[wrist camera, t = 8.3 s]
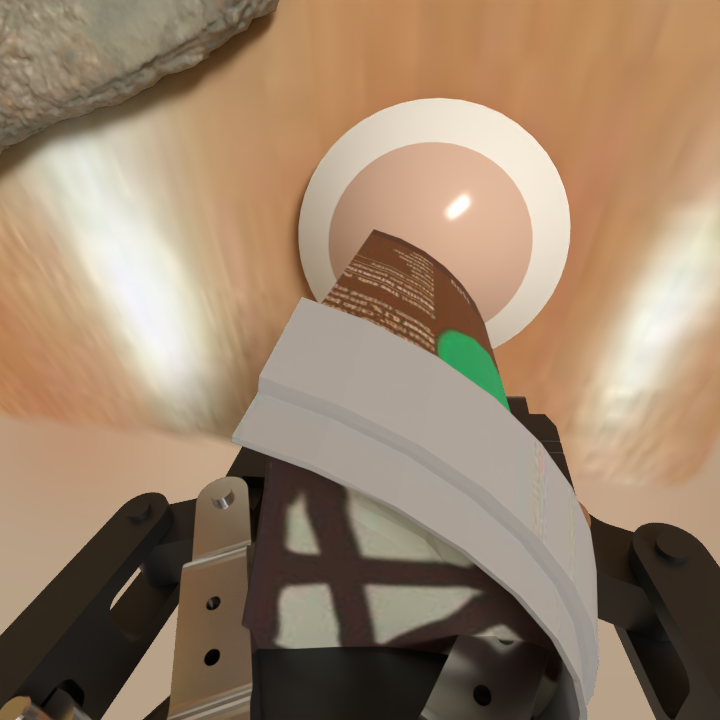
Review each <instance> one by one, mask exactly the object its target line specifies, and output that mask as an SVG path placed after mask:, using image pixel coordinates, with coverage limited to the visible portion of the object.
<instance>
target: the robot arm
mask: <svg viewBox="0 0 720 720" xmlns="http://www.w3.org/2000/svg"><path fill="white" fill-rule="evenodd" d="M506 398H507V402H508V405H509V409H510V412H511V414H512V415H513V416H514V417H515V418H516V419H517V420H518V421H519V422H520V423H521V424H522V425H523V426H524V427H525V428H526V429H527V430H528V431H529V432H530V433H531V434H532V435H533V436H534V437H535V438H536V439H537V440H538V441H539V442H541V444H542V445H543V447H544V448H545V450H546V451H547V452H548V454H549V455H550V457H551V458H552V460H553V461H554V462H555V464H556V465H557V467H558V468H559V469H560V471H561V472H562V474H563V475H564V477H565V478H566V479H567V481H568V482H569V484H570V485H571V487H572V488H573V490H574V487H573V484H572V480H571V477H570V473H569V470H568V466H567V463H566V459H565V456H564V454H563V449H562V445H561V443H560V438H559V435H558V431H557V428H556V426H555V425H554V424H553V422H552V421H551V420H550V419H549V418H548V417H547V416H546V415H545V414H529V411H528V407H527V402H526V398H525V397H509V396H506ZM265 471H266V459H265V454H263V453H261V452H258V451H255V450H252V449H250V448H247V447H244V446H242V448H241V450H240V452H239V454H238V455H237V457H236V459H235V461H234V463H233V464H232V466H231V468H230V470H229V471H228V473H227V475H226V477H224V478H220V479H218V480H215V481H213V482H212V483H210V484H209V485H207V486H206V487H205V488H204V489H203V490H202V491H201V492H200V494H199V496H198V498H196V499H193V500H188V501H183V502H179V503H174V504H169V503H168V501H167V499H166V497H165V496H164V495H162V494H160V493H145V494H142V495H139V496H137V497H135V498H133V499H131V500H130V501H128V502H127V503H126V504H124V505H123V506H122V507H121V508H120V509H119V510H118V511H117V512H116V513H115V514H114V516H113V517H112V518H111V519H110V520H109V521H108V522H107V523H106V524H105V525H104V526H103V527H102V528H101V529H100V530H99V532H98V533H97V534H96V535H95V536H94V537H93V538H92V539H91V540H90V541H89V542H88V543H87V544H86V545H85V546H84V547H83V549H81V551H80V552H79V553H78V554H77V555H76V556H75V557H74V558H73V559H72V560H71V561H70V562H69V563H68V564H67V565H66V567H65V568H64V569H63V570H62V571H61V572H60V573H59V574H58V575H57V576H56V577H55V578H54V579H53V580H52V581H51V582H50V583H49V584H48V586H47V587H46V588H45V589H44V590H43V591H42V592H41V593H40V594H39V595H38V596H37V597H36V599H34V601H33V602H32V603H31V604H30V605H29V606H28V607H27V608H26V609H25V610H24V611H23V612H22V613H21V614H20V615H19V616H18V617H17V619H16V620H15V621H14V622H13V623H12V624H11V625H10V626H9V627H8V628H7V629H6V630H5V631H4V632H3V634H1V636H0V720H101V718H102V717H103V715H104V714H105V712H106V711H107V709H108V708H109V706H110V705H111V703H112V702H113V700H114V699H115V697H116V696H117V694H118V693H119V691H120V690H121V688H122V687H123V685H124V684H125V682H126V681H127V680H128V678H129V677H130V675H131V674H132V672H133V671H134V669H135V667H136V666H137V665H138V663H139V662H140V660H141V659H142V657H143V656H144V654H145V653H146V651H147V650H148V648H149V647H150V645H151V644H152V642H153V641H154V639H155V638H156V636H157V635H158V633H159V632H160V630H161V629H162V627H163V626H164V624H165V623H166V621H167V620H168V618H169V617H170V615H171V614H172V613H173V611H174V610H175V608H176V607H177V605H178V604H179V607H178V618H177V629H176V640H175V650H174V662H173V672H172V683H171V694H170V696H169V697H168V698H166V699H165V700H164V701H163V702H162V703H161V704H160V705H159V706H157V707H156V708H155V709H154V710H153V711H152V712H151V713H150V714H149V715H147V716H146V717H145V718H144V719H143V720H531V717H532V713H533V710H534V707H535V704H536V701H537V697H538V694H539V691H540V688H541V684H542V681H543V678H544V675H545V672H546V669H547V665H548V659H549V653H550V651H549V650H547V649H545V648H542V647H540V646H538V645H535V644H532V643H529V642H525V641H519V640H514V642H513V643H512V644H510V645H504V644H502V643H501V642H500V641H499V640H498V638H497V637H496V636H467V635H458V637H457V639H456V642H455V644H454V646H453V648H452V650H451V652H450V654H449V655H446V654H440V653H434V652H426V651H419V650H411V649H403V648H394V647H377V646H366V647H320V648H299V649H261V648H258V647H257V643H256V640H255V638H254V636H253V633H252V631H251V628H250V627H245V626H242V625H241V624H242V618H243V612H244V607H245V602H246V596H247V591H248V586H249V580H250V574H251V567H252V561H253V555H254V549H255V543H256V536H257V530H258V523H259V517H260V511H261V504H262V498H263V491H264V482H265ZM574 493H575V491H574ZM575 495H576V494H575ZM576 498H577V497H576ZM578 502H579V501H578ZM579 505H580V507H581V509H582V512H583V514H584V516H585V519H586V521H587V524H588V526H589V528H590V531H591V537H592V544H593V551H594V557H595V564H596V572H597V610H598V618H599V619H601V620H604V621H606V622H609V623H611V624H614V626H615V629H616V631H617V634H618V636H619V638H620V640H621V642H622V645H623V647H624V649H625V651H626V653H627V656H628V658H629V660H630V662H631V664H632V667H633V669H634V671H635V674H636V675H637V678H638V680H639V682H640V685H641V687H642V689H643V691H644V693H645V696H646V698H647V700H648V702H649V705H650V707H651V709H652V711H653V713H654V716H655V718H656V720H720V567H719V566H718V564H717V563H716V561H715V560H714V559H713V557H712V556H711V555H710V553H709V552H708V550H707V549H706V548H705V547H704V545H703V544H702V543H701V542H700V541H699V540H698V539H696V538H695V537H694V536H693V535H691V534H690V533H688V532H686V531H684V530H682V529H680V528H678V527H675V526H673V525H669V524H664V523H648V524H645V525H642V526H640V527H639V528H638V529H637V530H636V531H635V532H631V531H628V530H624V529H622V528H618V527H615V526H612V525H609V524H606V523H604V522H602V521H599V520H598V519H596V518H595V517H593V516H592V515H590V514H589V513H588V511H587V510H586V508H585V507H584V506H583V505H582V504H581V503H580V502H579ZM138 567H139V568H140V570H141V572H140V573H139V575H138V576H137V577H136V578H135V580H134V581H133V582H132V584H131V585H130V586H129V587H128V589H127V590H126V591H125V592H124V594H123V595H122V596H121V597H120V599H119V600H118V602H117V603H116V604H115V605H114V607H113V608H112V609H111V610H110V607H111V604H112V601H113V599H114V598H115V596H116V595H117V593H118V592H119V591H120V590H121V588H122V587H123V586H124V585H125V583H126V582H127V581H128V580H129V578H130V577H131V576H132V575H133V573H134V572H135V571H136V570H137V568H138Z"/></svg>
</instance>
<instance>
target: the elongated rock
mask: <svg viewBox="0 0 720 720" xmlns="http://www.w3.org/2000/svg"><path fill="white" fill-rule="evenodd" d="M278 2H279V0H0V154H1V153H2V152H3V150H5V149H9V148H10V145H13V144H16V143H19V142H21V141H23V140H26V139H27V138H28V137H29V136H30V135H33V134H36V133H38V132H41V131H43V130H45V129H46V128H47V126H51V125H54V124H55V123H56V122H58V121H62V120H64V119H70V118H73V117H77V116H83V115H86V114H89V113H91V112H93V111H94V109H95V108H100V107H103V106H116V105H120V104H122V102H123V101H127V100H128V99H129V98H132V97H133V96H135V95H137V94H139V92H140V91H143V90H144V89H147V88H150V87H152V86H154V85H155V84H156V83H157V82H158V81H159V80H160V79H161V78H162V77H164V76H166V75H167V74H173V73H179V72H181V71H183V70H186V69H188V68H192V67H195V66H196V65H197V64H199V63H200V62H201V61H202V60H205V59H207V58H209V56H210V51H212V50H214V49H218V48H219V47H220V46H222V45H223V44H224V43H226V42H227V41H228V40H229V39H230V38H231V37H232V36H234V35H236V34H239V33H240V32H242V31H247V30H248V28H249V25H250V24H251V22H252V20H253V18H258V17H261V16H265V15H267V14H268V13H270V12H273V11H275V10H276V8H277V5H278Z"/></svg>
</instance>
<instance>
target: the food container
mask: <svg viewBox="0 0 720 720" xmlns="http://www.w3.org/2000/svg"><path fill="white" fill-rule="evenodd" d="M231 442H233V443H236V444H238V445H241V446H244V447H247V448H250V449H252V450H255V451H258V452H261V453H263V454H265V459H266V471H265V482H264V491H263V498H262V504H261V511H260V517H259V523H258V530H257V536H256V543H255V549H254V555H253V561H252V567H251V574H250V580H249V586H248V591H247V596H246V602H245V607H244V612H243V618H242V624H241V625H242V626H245V627H250V628H251V631H252V633H253V636H254V638H255V640H256V643H257V647H258V648H261V649H299V648H320V647H366V646H377V647H394V648H403V649H411V650H419V651H426V652H434V653H440V654H446V655H449V654H450V652H451V650H452V648H453V646H454V644H455V642H456V639H457V637H458V635H467V636H496V637H497V638H498V640H499V641H500V642H501V643H502V644H504V645H510V644H512V643H513V642H514V640H519V641H525V642H529V643H532V644H535V645H538V646H540V647H542V648H545V649H547V650H549V651H550V653H549V659H548V665H547V669H546V672H545V675H544V678H543V681H542V684H541V688H540V691H539V694H538V697H537V701H536V704H535V707H534V710H533V713H532V717H531V720H587V708H586V706H587V704H588V702H589V701H590V699H591V697H592V696H593V693H594V687H595V681H596V675H597V670H598V665H599V649H598V648H599V647H598V610H597V572H596V564H595V557H594V551H593V544H592V537H591V531H590V528H589V526H588V524H587V521H586V519H585V516H584V514H583V512H582V509H581V507H580V505H579V502H578V500H577V498H576V495H575V493H574V490H573V488H572V487H571V485H570V484H569V482H568V481H567V479H566V478H565V477H564V475H563V474H562V472H561V471H560V469H559V468H558V467H557V465H556V464H555V462H554V461H553V460H552V458H551V457H550V455H549V454H548V452H547V451H546V450H545V448H544V447H543V445H542V444H541V442H539V441H538V440H537V439H536V438H535V437H534V436H533V435H532V434H531V433H530V432H529V431H528V430H527V429H526V428H525V427H524V426H523V425H522V424H521V423H520V422H519V421H518V420H517V419H516V418H515V417H514V416H513V415H512V414H511V412H510V409H509V405H508V402H507V398H506V395H505V392H504V388H503V385H502V381H501V378H500V374H499V371H498V368H497V364H496V361H495V357H494V354H493V350H492V347H491V344H490V340H489V337H488V333H487V330H486V326H485V323H484V321H483V319H482V317H481V314H480V312H479V310H478V308H477V306H476V304H475V302H474V301H473V299H472V298H471V296H470V295H469V293H468V292H467V291H466V289H465V288H464V286H463V285H462V284H461V282H460V281H459V280H458V279H457V278H456V277H455V276H454V275H453V274H452V273H451V272H450V271H449V270H448V269H447V268H446V267H445V266H444V265H442V264H441V263H440V262H438V261H437V260H436V259H434V258H433V257H432V256H430V255H429V254H428V253H426V252H425V251H423V250H421V249H420V248H418V247H416V246H414V245H412V244H410V243H408V242H406V241H405V240H403V239H401V238H398V237H395V236H392V235H389V234H386V233H384V232H381V231H378V230H375V229H373V231H372V232H371V233H370V235H369V236H368V238H367V239H366V240H365V242H364V243H363V245H362V246H361V248H360V249H359V250H358V252H357V253H356V255H355V256H354V257H353V259H352V260H351V262H350V263H349V265H348V266H347V267H346V269H345V270H344V272H343V273H342V275H341V276H340V277H339V279H338V280H337V282H336V283H335V284H334V286H333V287H332V289H331V290H330V292H329V293H328V294H327V296H326V297H325V299H324V300H323V301H322V303H321V304H320V303H318V302H315V301H312V300H309V299H306V298H304V297H301V299H300V301H299V303H298V305H297V307H296V308H295V310H294V312H293V314H292V316H291V318H290V320H289V321H288V323H287V325H286V327H285V329H284V331H283V333H282V335H281V336H280V338H279V340H278V342H277V344H276V346H275V348H274V349H273V351H272V353H271V355H270V357H269V359H268V361H267V362H266V364H265V366H264V368H263V370H262V372H261V374H260V376H259V383H258V393H257V394H256V396H255V398H254V399H253V401H252V403H251V405H250V406H249V408H248V410H247V411H246V413H245V415H244V416H243V418H242V420H241V421H240V423H239V425H238V426H237V428H236V430H235V432H234V433H233V435H232V441H231Z"/></svg>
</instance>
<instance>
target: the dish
mask: <svg viewBox="0 0 720 720" xmlns="http://www.w3.org/2000/svg"><path fill="white" fill-rule="evenodd" d="M298 228H299V251H300V258H301V263H302V266H303V270H304V274H305V277H306V279H307V282H308V284H309V287H310V289H311V291H312V293H313V295H314V296H315V298H316V300H317V302H318V303H320V304H321V303H322V301H323V300H324V299H325V297H326V296H327V294H328V293H329V292H330V290H331V289H332V287H333V286H334V284H335V283H336V282H337V280H338V279H339V277H340V276H341V275H342V273H343V272H344V270H345V269H346V267H347V266H348V265H349V263H350V262H351V260H352V259H353V257H354V256H355V255H356V253H357V252H358V250H359V249H360V248H361V246H362V245H363V243H364V242H365V240H366V239H367V238H368V236H369V235H370V233H371V232H372V231H373V229H375V230H378V231H381V232H384V233H386V234H389V235H392V236H395V237H398V238H401V239H403V240H405V241H406V242H408V243H410V244H412V245H414V246H416V247H418V248H420V249H421V250H423V251H425V252H426V253H428V254H429V255H430V256H432V257H433V258H434V259H436V260H437V261H438V262H440V263H441V264H442V265H444V266H445V267H446V268H447V269H448V270H449V271H450V272H451V273H452V274H453V275H454V276H455V277H456V278H457V279H458V280H459V281H460V282H461V284H462V285H463V286H464V288H465V289H466V291H467V292H468V293H469V295H470V296H471V298H472V299H473V301H474V302H475V304H476V306H477V308H478V310H479V312H480V314H481V317H482V319H483V321H484V323H485V326H486V330H487V333H488V337H489V340H490V344H491V347H492V349H494V348H496V347H497V346H499V345H501V344H503V343H505V342H506V341H508V340H509V339H511V338H512V337H513V336H515V335H516V334H518V333H519V332H520V331H521V330H522V329H523V328H525V327H526V326H527V325H528V324H529V323H530V322H531V321H532V320H533V319H534V318H535V317H536V315H537V314H538V313H539V312H540V311H541V310H542V308H543V307H544V306H545V304H546V303H547V301H548V300H549V298H550V297H551V295H552V294H553V292H554V290H555V288H556V286H557V284H558V282H559V280H560V277H561V274H562V271H563V269H564V266H565V263H566V259H567V254H568V248H569V243H570V214H569V205H568V201H567V197H566V193H565V189H564V186H563V184H562V181H561V179H560V176H559V174H558V171H557V169H556V168H555V166H554V164H553V163H552V161H551V159H550V158H549V156H548V154H547V153H546V152H545V150H544V149H543V148H542V147H541V146H540V145H539V143H538V142H537V141H536V140H535V139H534V137H532V136H531V135H530V134H529V133H528V132H527V131H525V130H524V129H523V128H522V127H521V126H520V125H518V124H517V123H516V122H514V121H513V120H511V119H510V118H508V117H506V116H505V115H503V114H501V113H500V112H498V111H495V110H493V109H491V108H488V107H486V106H483V105H481V104H477V103H473V102H469V101H465V100H461V99H451V98H425V99H417V100H412V101H408V102H403V103H399V104H397V105H394V106H391V107H388V108H386V109H383V110H381V111H379V112H377V113H375V114H373V115H371V116H370V117H368V118H366V119H364V120H362V121H361V122H360V123H358V124H357V125H355V126H354V127H353V128H351V129H350V130H349V131H347V132H346V133H345V134H344V135H343V136H342V137H341V138H340V139H339V140H338V141H337V142H336V143H335V144H334V145H333V146H332V147H331V148H330V150H329V151H328V152H327V154H326V155H325V156H324V157H323V159H322V160H321V162H320V163H319V165H318V167H317V168H316V170H315V172H314V174H313V175H312V177H311V180H310V182H309V185H308V187H307V190H306V192H305V195H304V199H303V203H302V207H301V211H300V219H299V227H298Z"/></svg>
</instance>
